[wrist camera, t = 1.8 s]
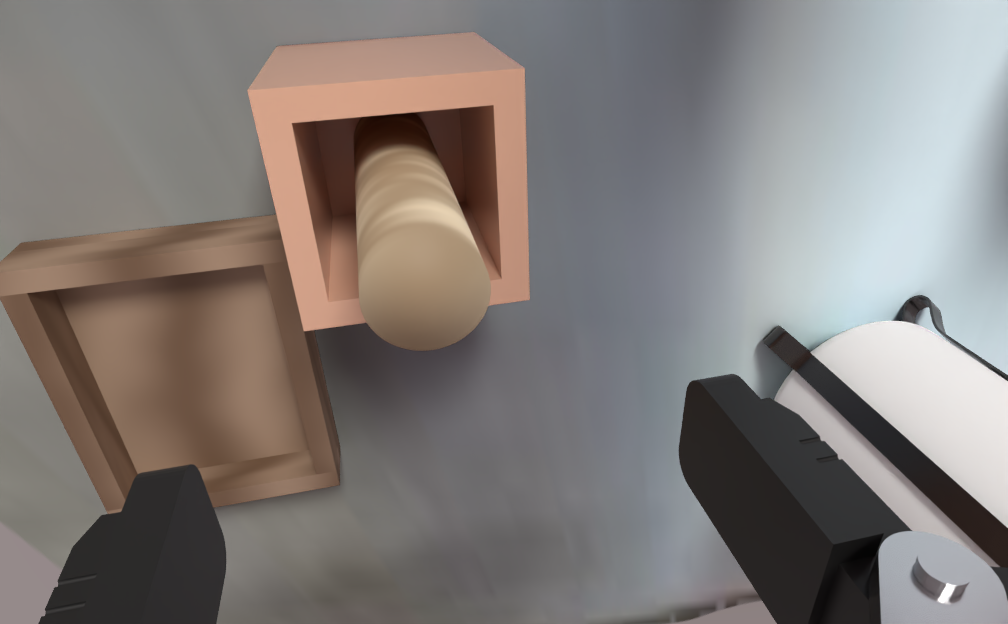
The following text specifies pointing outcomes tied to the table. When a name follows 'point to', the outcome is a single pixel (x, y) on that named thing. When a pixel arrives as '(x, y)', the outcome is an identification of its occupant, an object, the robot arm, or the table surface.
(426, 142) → the dowel
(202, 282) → the tray
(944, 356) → the coffee press
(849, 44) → the table surface
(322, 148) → the pink open box
